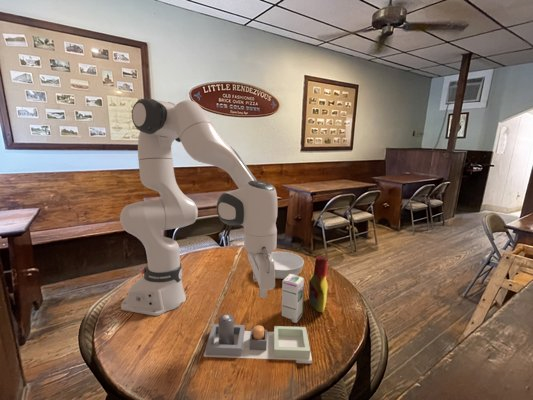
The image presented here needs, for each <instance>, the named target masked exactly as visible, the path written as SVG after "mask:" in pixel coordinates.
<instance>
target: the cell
mask: <svg viewBox="0 0 533 400" xmlns="http://www.w3.org/2000/svg"><path fill="white" fill-rule="evenodd" d="M217 320H218V324H219V344H221V345H233V344H234V325H235V324H234V323H235V321H234V320H235V317H234V316H233V315H232V314H230V313H224V314H222V315H220V316H219V317H218V319H217Z"/></svg>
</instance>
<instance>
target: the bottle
mask: <svg viewBox="0 0 533 400" xmlns="http://www.w3.org/2000/svg"><path fill="white" fill-rule="evenodd" d="M327 269H328V259H327V257H326V256H324V255H317V256H316V257H315V262H314V271H313V273H312V274H311V276H310V278H309V281H308V283H309V284H308V299H309V302H310V305H311V307H312V308H313V309H314V311H316V312H319V313H324V312H325V308H326V304H327V297H328V286H329V285H328V281H327Z"/></svg>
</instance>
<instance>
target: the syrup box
mask: <svg viewBox="0 0 533 400" xmlns="http://www.w3.org/2000/svg"><path fill="white" fill-rule="evenodd" d="M281 284H282V285H281V287H282V288H281V290H282V291H281V316H282V317H283V318H286V319H290V320H291V322H292V323H295V324H297V323H298V322H299V320H300V319H301V318H302V316H303V315H304V296H305V294H304V293H305V292H304V291H305V290H304V288H305V277H303V276H300V275H299V274H297V275H294V274H289V275H288V276H287V277H286V278H285V279H283V280H282V282H281Z"/></svg>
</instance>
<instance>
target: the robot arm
mask: <svg viewBox="0 0 533 400" xmlns="http://www.w3.org/2000/svg"><path fill="white" fill-rule="evenodd" d="M131 120H132V123H133V126H134V127H135V128H136V130H138V131H140V132H139V135H138V138H137V139H138V140H137V157H138V160H137V161H138V169H139V178H140V179H139V180H140V182H141V184H142V185H143V186H144V187H145V188H147V189H150V190H153V191H155V192H158V194H159V196H160V199H153V200H152V199H151V200H140V201H136V202H133V203H132V202H131V203H130V204H126V205H125V206H124V207H123V208H122V210H121V211H120V215H119V222H120V225H121V227H122V229H123V230H125V232H127V233H128V234H131V235H132V236H134V237H135V238H137V239H138V240H139V241H140V242H141V243H142V245H143V246H144V248H145V249H144V250H145V253H146V254H145V255H146V259H147V264H146V266H145V267H144V268H143V270H141V273H140V275H141V277H140V278H139V279H137V280H135V282H134V283H133V284H132V285H131V286H130V288H129V290H128V294H127V296H126V297H124V298H123V300H122V302H121V304H120V310H122V311H124V312H130V313H131V312H132V313H137V314H142V315H143V314H144V315H147V316H148V315H149V316H155V317H158V316H161V315H163V314H164V313H166V312H169V311H171V310H175V309H177V308H179V307H180V306H181V304H182V303H185V302H186V299H187V295H186V293H185V290H184V286H183V281H182V278H183V267H182V263H181V255H180V254H181V253H180V245H179V244H178V243H179V242H177V241H176V240H175V239H172V238H170V237H167V236H163V235H162V233H163V231H167V230H173V229H181V228H184V227H187V226H189V225H193V224H194V223H196V221H197V219H198V215H199V210H198V206H197V204H196V203H195V201H194V200H193V199H191V198H189V196H187V195H185V193H183V191H182V190H181V189H180V187H179V185H178V183H177V180H176V175H175V170H174V169H175V168H174V162H173V154H172V144H173V142H174V141H176V142H178V143H181V145H182V147H183V148H184V150H185V151H186V153H187V155H188V156H189V157H191V159H193V160H194V161H196V162H198V163H201V164H206V165H209V166H213V167H217V168H219V169H221V170H223V171H225V173H227V174H228V175H229V176H230V178H231V179H232V181H233V182H234V183H235V185H236V187H238V188H237V189H234V190H229V191H226V192H224V193H221V194H220V195H219V197H218V199H217V201H216V213H217V216H218V219H219V220H220V221H221V222H222V223H224V224H225V225H227V226H242V227H243V229H244V230H243V232H244V233H243V248H244V249H245V251H247V259H248V262H249V264H250V267H251V269H252V275H253V276H252V278H253V281H254V282H256V283H257V284H258V287H259V289H258V295H259V298H261V299H264V298H265V299H266V298H267V296H268V291H271V290H274V289H275V287H276V278H275V265H274V260H273V258H272V256H271V254H272V252H275V250H276V249H277V238H278V236H277V235H278V229H277V224H276V223H277V218H278V211H279V210H278V206H279V205H278V203H279V202H278V196H277V195H278V193H277V189H276V187H275V186H274V185H273V184H271V183H270V182H268V181H264V180H257V178H256V177H255V176H254V175H253V173H252V172H251V170H250V168H249V167H248V166H247V165H246V163H245V162H244V160H243V159H242V157H241V156H240V155H239V154H238V152H237V151H236V150H235V149H234V148H233V147H232V146H230V145H229V143H228V142H226V140H225V139H223V137H222V136H221V135H220V133H219V132H218V130H217V129H216V127H215V125H214V124H213V122H212V120H211V119H210V118H209V115H207V113H206V112H205V110H204V109H203V108H202V107H201V106H200V105H199V103H197V102H196V101H194V100H189V99H186V100H183V101H180V102H178V103H174V102H170V101H162V100H156V99H153V98H141V99H138V100H137V101H136V102H135V104H134V105H133V106H132V109H131Z"/></svg>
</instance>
